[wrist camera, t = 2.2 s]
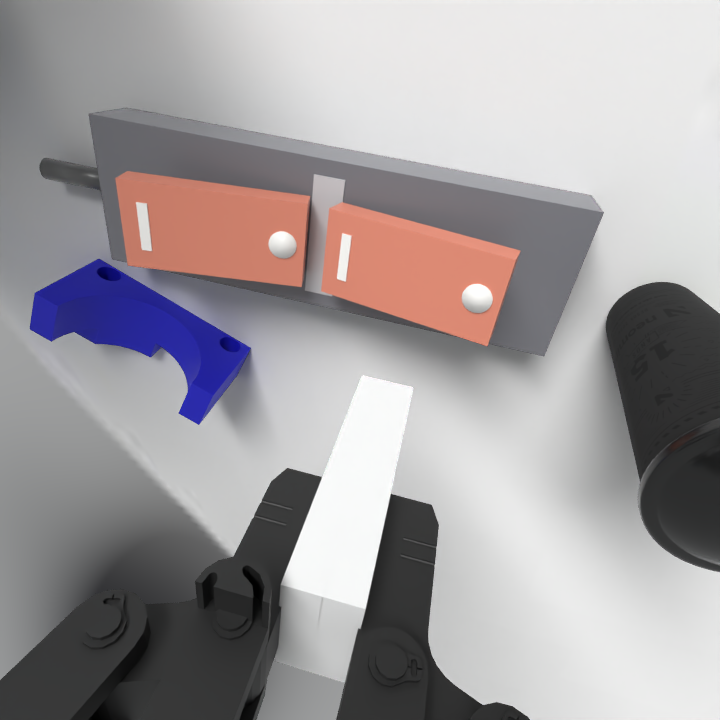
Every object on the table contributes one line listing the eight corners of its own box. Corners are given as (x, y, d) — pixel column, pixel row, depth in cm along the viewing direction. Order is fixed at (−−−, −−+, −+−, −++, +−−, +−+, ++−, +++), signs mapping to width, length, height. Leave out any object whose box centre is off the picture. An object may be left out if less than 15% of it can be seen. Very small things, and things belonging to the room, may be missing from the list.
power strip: (73, 227, 33) (36, 242, 30) (47, 92, 28) (1, 97, 26) (538, 328, 29) (544, 356, 27) (591, 195, 25) (604, 212, 22)
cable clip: (89, 305, 36) (27, 345, 31) (100, 257, 34) (34, 293, 29) (231, 387, 38) (192, 438, 33) (251, 346, 35) (213, 395, 30)
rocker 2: (333, 282, 27) (320, 291, 26) (342, 202, 24) (328, 208, 23) (492, 333, 24) (486, 346, 23) (520, 250, 22) (515, 260, 21)
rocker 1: (138, 255, 26) (127, 266, 25) (127, 170, 24) (114, 178, 23) (304, 276, 27) (301, 287, 26) (310, 195, 25) (307, 204, 23)
